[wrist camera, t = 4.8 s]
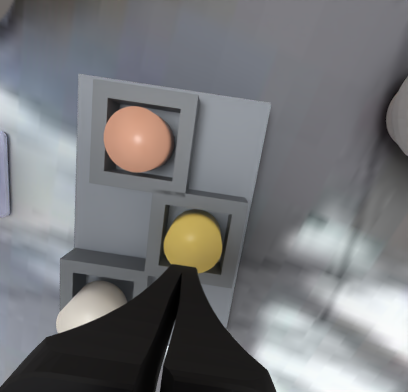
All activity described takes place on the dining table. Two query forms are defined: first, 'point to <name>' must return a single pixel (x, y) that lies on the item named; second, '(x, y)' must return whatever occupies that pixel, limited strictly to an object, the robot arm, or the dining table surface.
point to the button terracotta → (138, 139)
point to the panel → (161, 187)
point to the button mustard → (194, 240)
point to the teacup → (399, 117)
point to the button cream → (90, 305)
